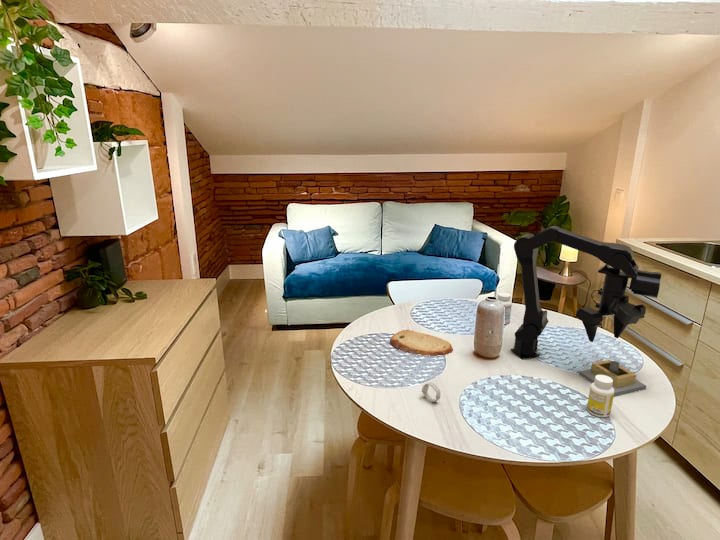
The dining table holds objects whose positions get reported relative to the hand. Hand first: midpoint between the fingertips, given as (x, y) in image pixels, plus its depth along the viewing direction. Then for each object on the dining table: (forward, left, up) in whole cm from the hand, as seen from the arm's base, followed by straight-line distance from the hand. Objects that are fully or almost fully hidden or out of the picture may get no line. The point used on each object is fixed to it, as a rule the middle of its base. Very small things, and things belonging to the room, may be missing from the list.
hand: (603, 339), depth 127 cm
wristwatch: (-54, +3, -12) cm, 55 cm away
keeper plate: (0, -5, -11) cm, 12 cm away
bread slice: (-43, +33, -12) cm, 55 cm away
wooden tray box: (0, -5, -10) cm, 11 cm away
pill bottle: (-5, +41, -11) cm, 43 cm away
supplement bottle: (-15, -15, -12) cm, 24 cm away
